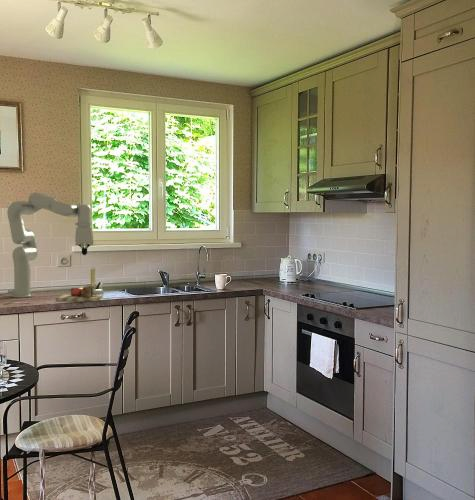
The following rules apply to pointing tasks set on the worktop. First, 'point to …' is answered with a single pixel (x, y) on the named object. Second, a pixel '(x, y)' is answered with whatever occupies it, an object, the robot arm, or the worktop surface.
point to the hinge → (98, 286)
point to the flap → (92, 277)
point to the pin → (78, 290)
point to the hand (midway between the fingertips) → (84, 254)
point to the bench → (78, 298)
